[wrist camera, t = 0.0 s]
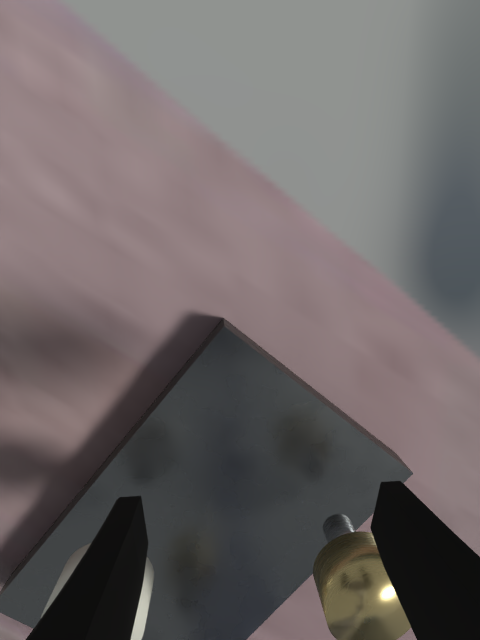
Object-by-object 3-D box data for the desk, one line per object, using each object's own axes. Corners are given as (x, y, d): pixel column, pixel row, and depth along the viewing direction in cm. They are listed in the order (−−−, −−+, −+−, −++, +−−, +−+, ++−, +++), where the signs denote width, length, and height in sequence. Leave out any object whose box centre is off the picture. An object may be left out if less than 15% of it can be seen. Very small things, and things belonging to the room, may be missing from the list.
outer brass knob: (338, 567, 18) (373, 661, 14) (285, 533, 18) (307, 622, 14) (387, 519, 18) (439, 602, 14) (335, 481, 17) (373, 557, 13)
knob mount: (186, 665, 25) (184, 700, 23) (10, 575, 22) (-10, 607, 20) (395, 453, 22) (413, 473, 20) (223, 317, 19) (224, 326, 17)
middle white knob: (132, 576, 18) (106, 678, 13) (68, 540, 17) (19, 637, 13) (177, 526, 17) (165, 616, 13) (113, 486, 16) (77, 569, 12)
